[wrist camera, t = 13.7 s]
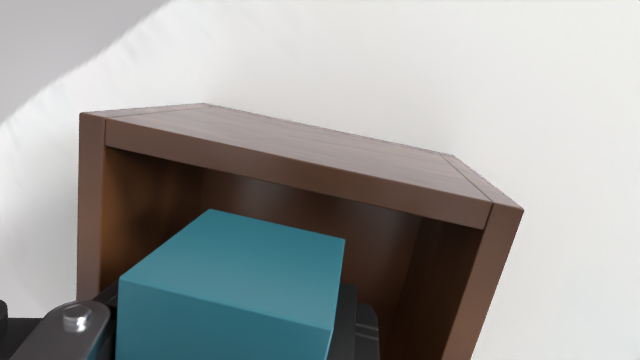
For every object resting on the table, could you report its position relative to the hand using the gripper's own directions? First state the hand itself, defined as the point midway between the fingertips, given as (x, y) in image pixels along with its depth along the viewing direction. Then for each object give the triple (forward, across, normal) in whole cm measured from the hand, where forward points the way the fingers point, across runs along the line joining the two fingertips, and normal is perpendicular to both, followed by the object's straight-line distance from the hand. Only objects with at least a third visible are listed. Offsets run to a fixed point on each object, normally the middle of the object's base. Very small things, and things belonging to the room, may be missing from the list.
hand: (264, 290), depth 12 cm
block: (0, 0, 0) cm, 0 cm away
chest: (+9, 0, -4) cm, 10 cm away
